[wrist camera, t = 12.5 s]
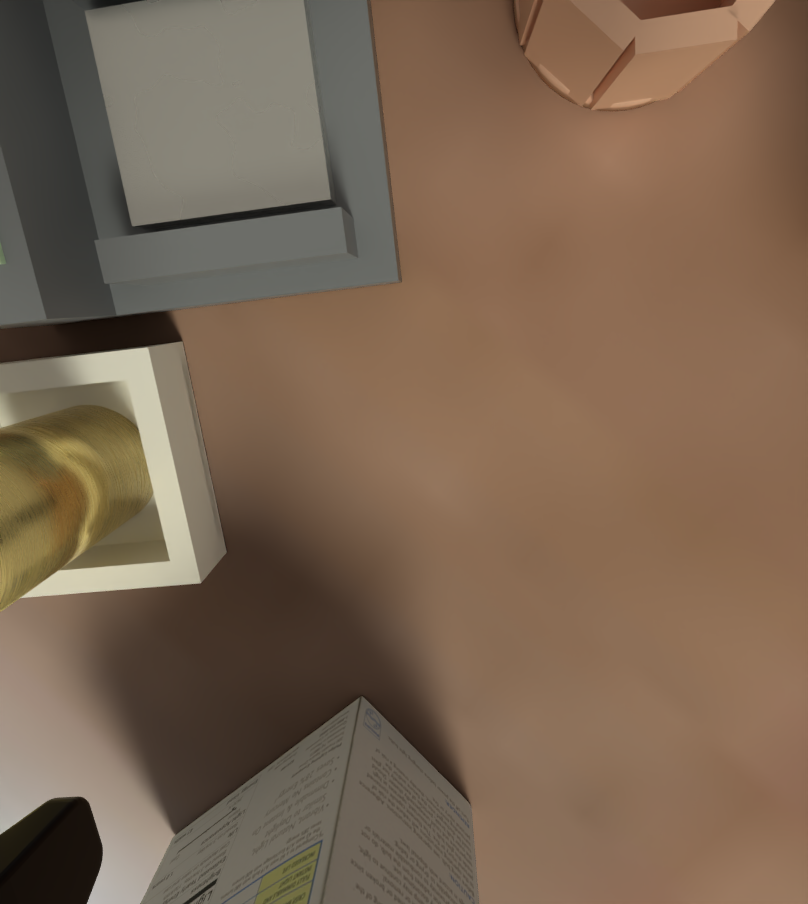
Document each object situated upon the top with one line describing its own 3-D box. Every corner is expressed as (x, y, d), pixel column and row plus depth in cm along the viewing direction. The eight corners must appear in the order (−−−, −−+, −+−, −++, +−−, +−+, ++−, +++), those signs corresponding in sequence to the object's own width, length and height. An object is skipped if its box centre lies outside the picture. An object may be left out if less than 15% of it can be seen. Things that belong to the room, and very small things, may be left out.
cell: (141, 398, 18) (-65, 467, 11) (169, 518, 19) (-2, 657, 12) (21, 411, 18) (-259, 487, 11) (54, 528, 19) (-181, 670, 12)
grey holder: (361, -83, 15) (327, -250, 10) (401, 282, 17) (388, 276, 12) (-38, -12, 16) (-230, -136, 11) (51, 325, 18) (-79, 334, 13)
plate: (307, -9, 14) (300, -27, 13) (336, 204, 15) (330, 198, 14) (103, 26, 14) (84, 10, 14) (147, 230, 16) (131, 226, 15)
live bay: (182, 341, 18) (147, 347, 16) (226, 552, 20) (201, 583, 17) (-31, 366, 18) (-92, 375, 16) (31, 569, 20) (-17, 600, 18)
